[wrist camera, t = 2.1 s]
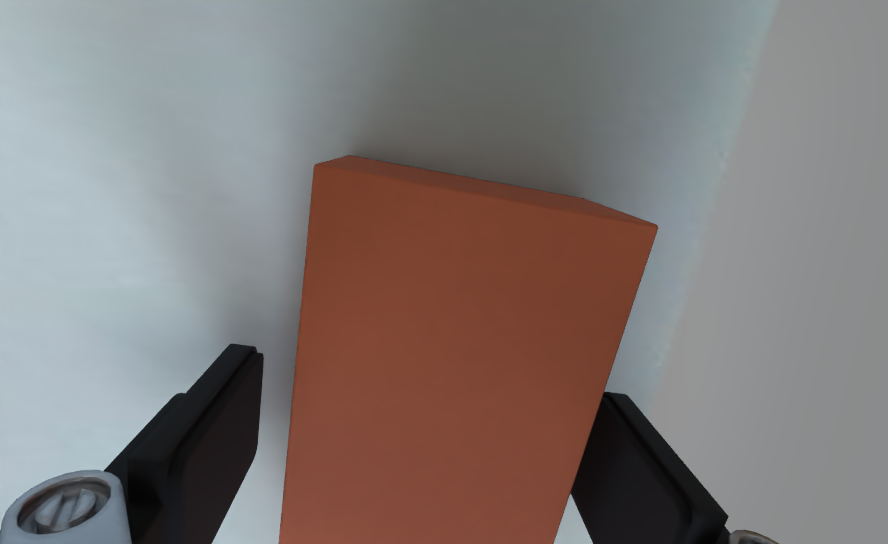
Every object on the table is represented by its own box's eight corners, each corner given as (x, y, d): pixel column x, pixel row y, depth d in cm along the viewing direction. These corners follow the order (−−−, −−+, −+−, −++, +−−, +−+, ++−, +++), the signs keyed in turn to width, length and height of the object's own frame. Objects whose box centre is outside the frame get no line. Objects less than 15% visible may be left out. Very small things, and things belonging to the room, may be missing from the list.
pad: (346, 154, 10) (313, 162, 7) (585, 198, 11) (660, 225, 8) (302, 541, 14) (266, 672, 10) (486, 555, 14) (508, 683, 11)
